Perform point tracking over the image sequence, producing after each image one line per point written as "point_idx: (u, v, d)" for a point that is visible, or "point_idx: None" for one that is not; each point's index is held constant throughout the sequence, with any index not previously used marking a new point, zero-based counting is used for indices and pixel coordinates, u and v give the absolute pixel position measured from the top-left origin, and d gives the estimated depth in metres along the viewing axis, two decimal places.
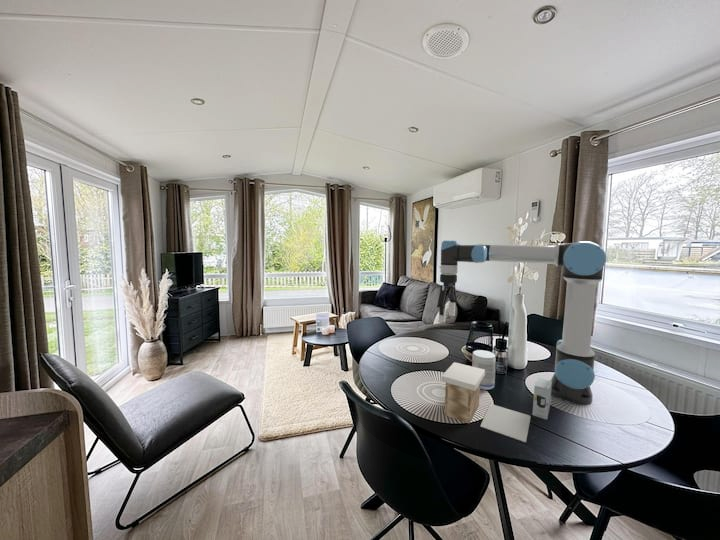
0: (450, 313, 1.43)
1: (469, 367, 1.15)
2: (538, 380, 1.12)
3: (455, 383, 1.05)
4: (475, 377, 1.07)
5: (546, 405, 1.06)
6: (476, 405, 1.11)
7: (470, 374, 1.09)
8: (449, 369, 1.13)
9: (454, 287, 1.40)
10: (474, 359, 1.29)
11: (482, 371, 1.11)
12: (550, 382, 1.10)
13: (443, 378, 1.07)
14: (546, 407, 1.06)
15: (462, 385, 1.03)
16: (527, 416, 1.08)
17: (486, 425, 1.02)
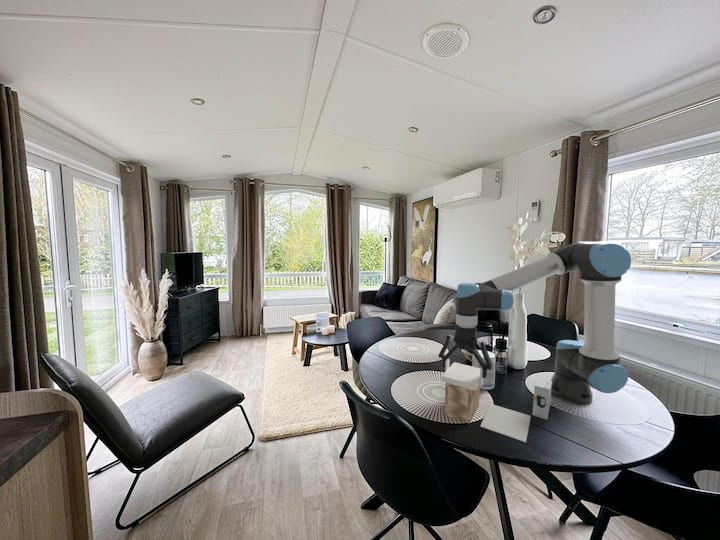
0: None
1: (469, 367, 1.15)
2: (538, 380, 1.12)
3: (455, 383, 1.05)
4: (475, 377, 1.07)
5: (546, 405, 1.06)
6: (476, 405, 1.11)
7: (470, 374, 1.09)
8: (449, 369, 1.13)
9: None
10: (474, 359, 1.29)
11: None
12: (550, 382, 1.10)
13: (443, 378, 1.07)
14: (546, 407, 1.06)
15: (462, 385, 1.03)
16: (527, 416, 1.08)
17: (486, 425, 1.02)
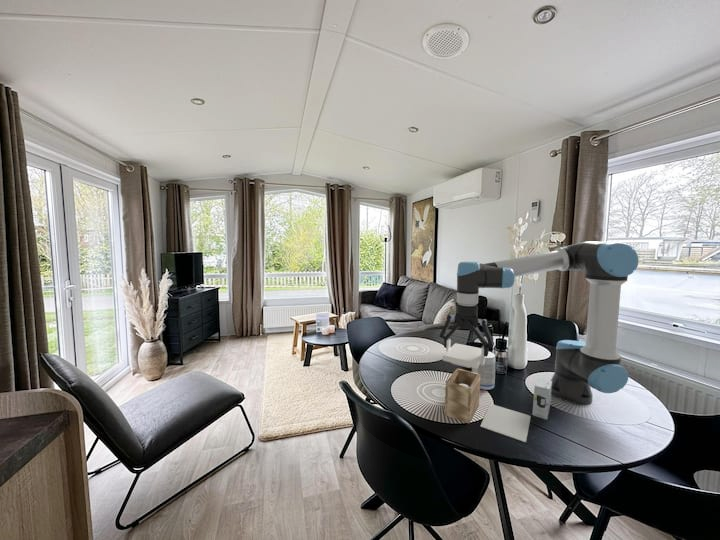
0: None
1: (470, 347, 1.14)
2: (538, 380, 1.12)
3: (456, 362, 1.04)
4: (477, 355, 1.06)
5: (546, 405, 1.06)
6: (476, 405, 1.11)
7: (472, 353, 1.08)
8: (450, 349, 1.12)
9: (482, 326, 1.04)
10: None
11: None
12: (550, 382, 1.10)
13: (444, 357, 1.06)
14: (546, 407, 1.06)
15: (463, 363, 1.02)
16: (527, 416, 1.08)
17: (486, 425, 1.02)
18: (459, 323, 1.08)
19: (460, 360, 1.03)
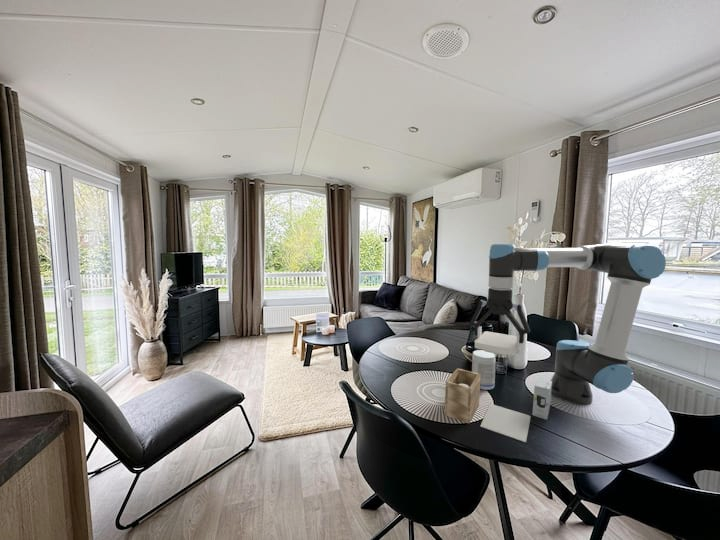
0: None
1: (502, 335, 1.08)
2: (538, 380, 1.12)
3: (490, 349, 0.98)
4: (511, 342, 1.00)
5: (546, 405, 1.06)
6: (476, 405, 1.11)
7: (505, 340, 1.03)
8: (481, 337, 1.07)
9: (517, 311, 0.98)
10: (474, 359, 1.29)
11: None
12: (550, 382, 1.10)
13: (476, 344, 1.01)
14: (546, 407, 1.06)
15: (498, 350, 0.97)
16: (527, 416, 1.08)
17: (486, 425, 1.02)
18: (492, 309, 1.02)
19: (494, 347, 0.98)
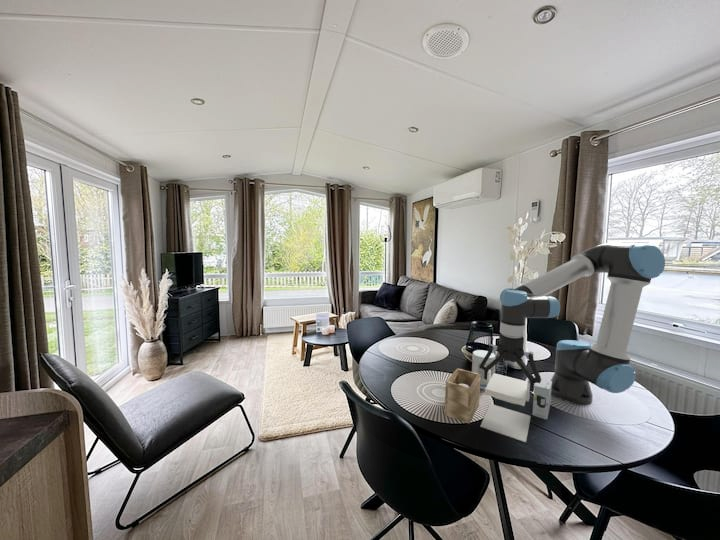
0: None
1: (511, 379, 1.08)
2: None
3: (501, 397, 0.98)
4: (521, 390, 1.00)
5: (546, 405, 1.06)
6: (476, 405, 1.11)
7: (515, 386, 1.02)
8: (491, 381, 1.06)
9: None
10: (474, 359, 1.29)
11: None
12: (550, 382, 1.10)
13: (487, 391, 1.00)
14: (546, 407, 1.06)
15: (509, 399, 0.97)
16: (527, 416, 1.08)
17: (486, 425, 1.02)
18: (503, 355, 1.02)
19: (505, 396, 0.97)
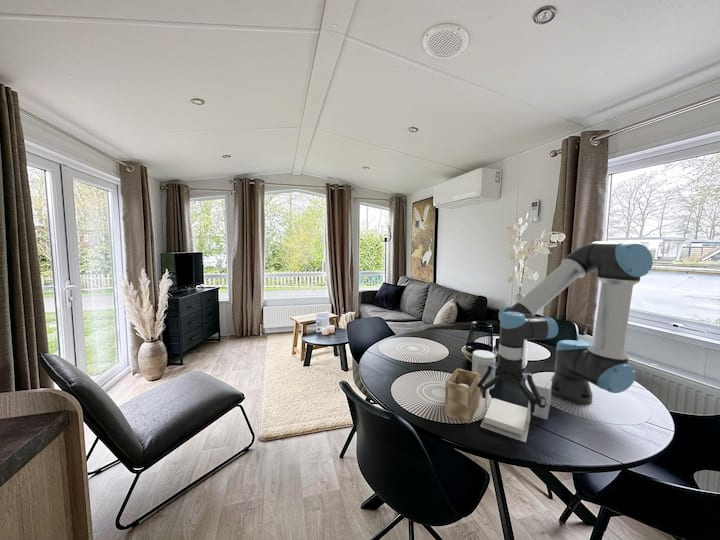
0: None
1: (510, 405, 1.09)
2: (538, 380, 1.12)
3: (500, 426, 0.99)
4: (520, 418, 1.01)
5: (546, 405, 1.06)
6: (476, 405, 1.11)
7: (514, 414, 1.04)
8: (490, 408, 1.07)
9: None
10: (474, 359, 1.29)
11: (525, 410, 1.06)
12: (550, 382, 1.10)
13: (486, 419, 1.01)
14: (546, 407, 1.06)
15: (508, 428, 0.98)
16: None
17: (486, 425, 1.02)
18: (501, 376, 1.03)
19: (504, 424, 0.98)
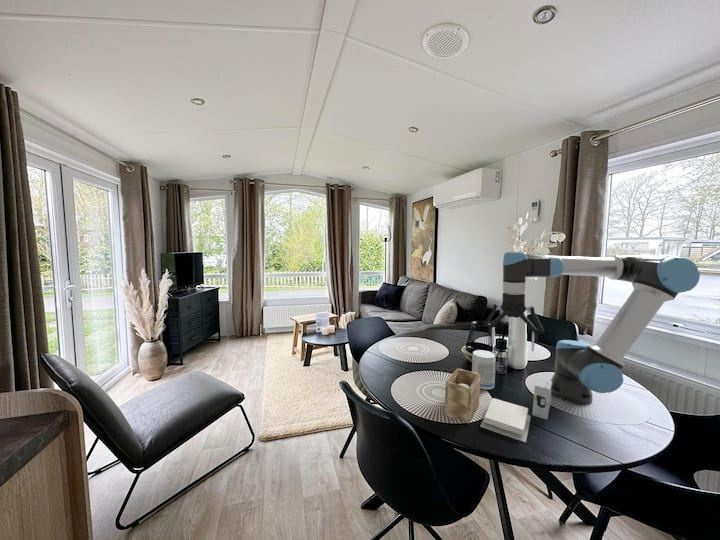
0: None
1: (510, 405, 1.09)
2: (538, 380, 1.12)
3: (500, 426, 0.99)
4: (520, 418, 1.01)
5: (546, 405, 1.06)
6: (476, 405, 1.11)
7: (514, 414, 1.04)
8: (490, 408, 1.07)
9: (531, 313, 1.07)
10: (474, 359, 1.29)
11: (525, 410, 1.06)
12: (550, 382, 1.10)
13: (486, 419, 1.01)
14: (546, 407, 1.06)
15: (508, 428, 0.98)
16: (527, 416, 1.08)
17: (486, 425, 1.02)
18: (506, 312, 1.10)
19: (504, 424, 0.98)
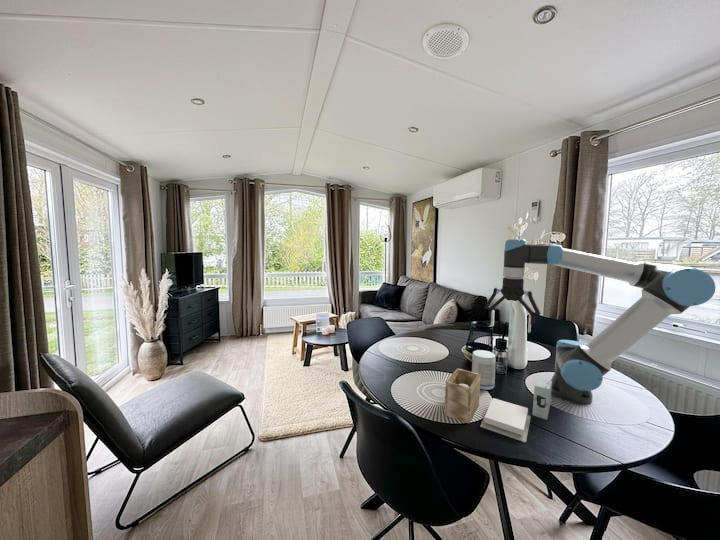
0: None
1: (510, 405, 1.09)
2: (538, 380, 1.12)
3: (500, 426, 0.99)
4: (520, 418, 1.01)
5: (546, 405, 1.06)
6: (476, 405, 1.11)
7: (514, 414, 1.04)
8: (490, 408, 1.07)
9: None
10: (474, 359, 1.29)
11: (525, 410, 1.06)
12: (550, 382, 1.10)
13: (486, 419, 1.01)
14: (546, 407, 1.06)
15: (508, 428, 0.98)
16: (527, 416, 1.08)
17: (486, 425, 1.02)
18: (505, 295, 1.18)
19: (504, 424, 0.98)
